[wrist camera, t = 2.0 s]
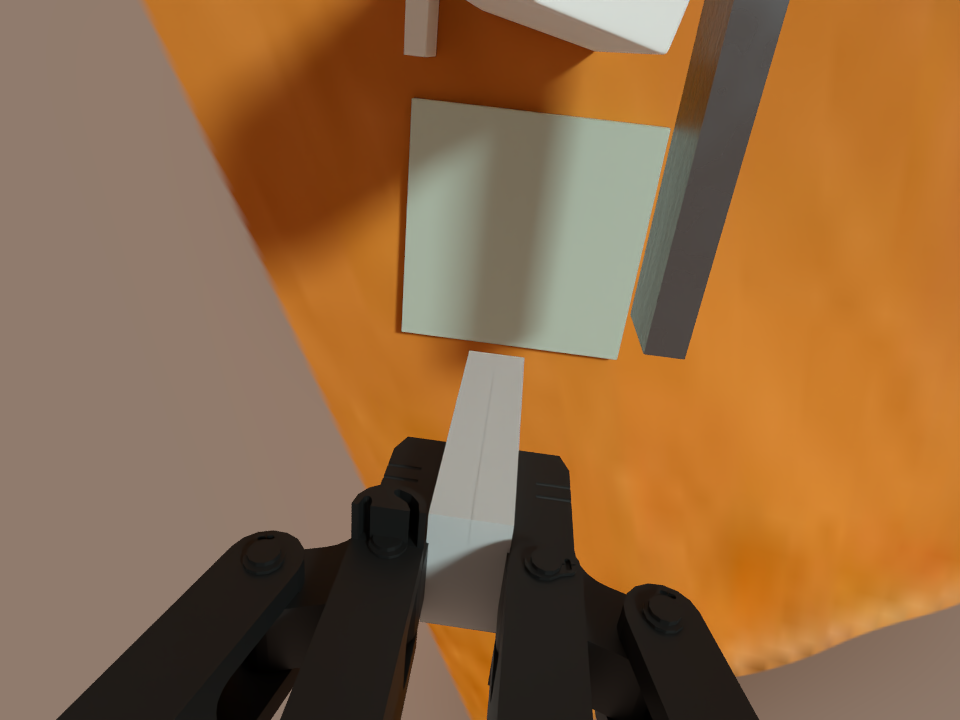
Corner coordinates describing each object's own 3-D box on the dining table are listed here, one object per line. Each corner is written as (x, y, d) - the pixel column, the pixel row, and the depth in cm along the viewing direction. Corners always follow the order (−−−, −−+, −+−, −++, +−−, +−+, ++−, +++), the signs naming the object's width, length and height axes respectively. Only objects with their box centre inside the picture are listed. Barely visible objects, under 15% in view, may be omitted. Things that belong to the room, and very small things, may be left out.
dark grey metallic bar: (787, -446, 17) (873, -620, 13) (881, -438, 17) (1001, -610, 12) (618, 308, 28) (632, 358, 23) (674, 316, 28) (700, 367, 23)
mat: (414, 97, 31) (411, 98, 30) (668, 127, 30) (670, 128, 30) (403, 327, 37) (401, 331, 36) (615, 355, 36) (616, 359, 36)
